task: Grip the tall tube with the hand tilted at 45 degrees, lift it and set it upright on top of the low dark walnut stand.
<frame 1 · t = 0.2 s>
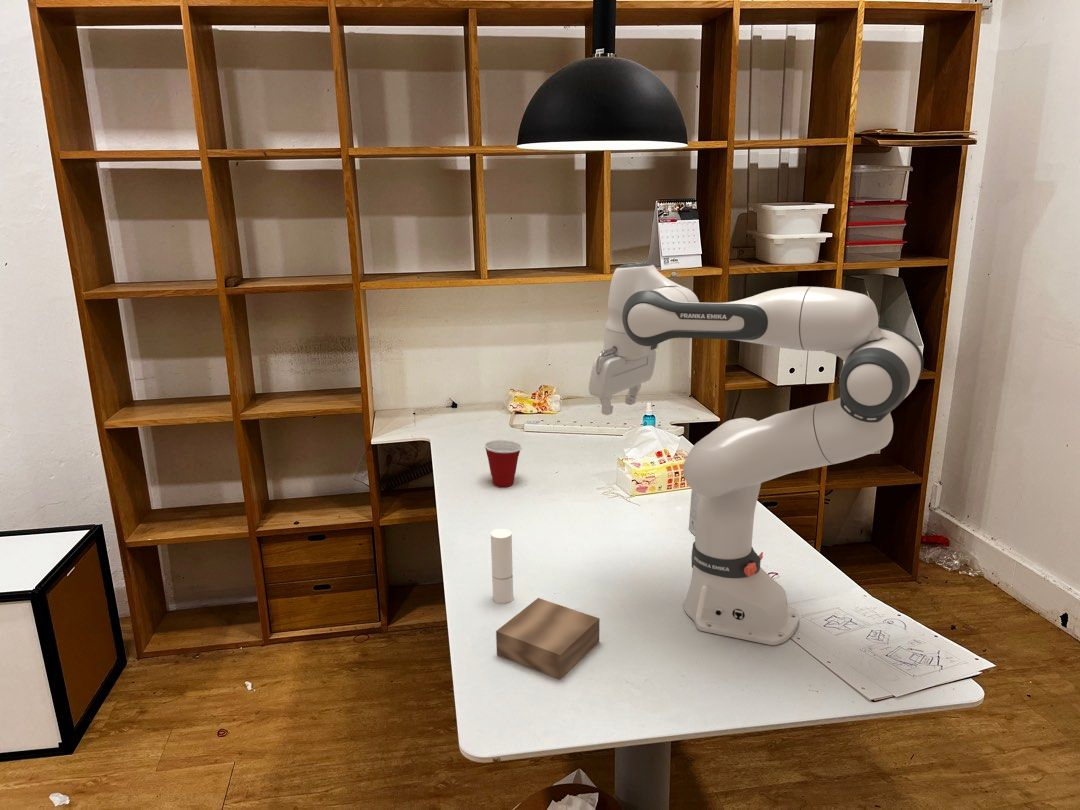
hand: (618, 408, 165), 39 cm above the table, tool pointing down, fingers open, 8 cm apart
walnut stand: (548, 647, 152), on the table
ink cartridge box: (707, 537, 196), on the table
tube: (503, 599, 169), on the table
plastic cup: (504, 484, 230), on the table
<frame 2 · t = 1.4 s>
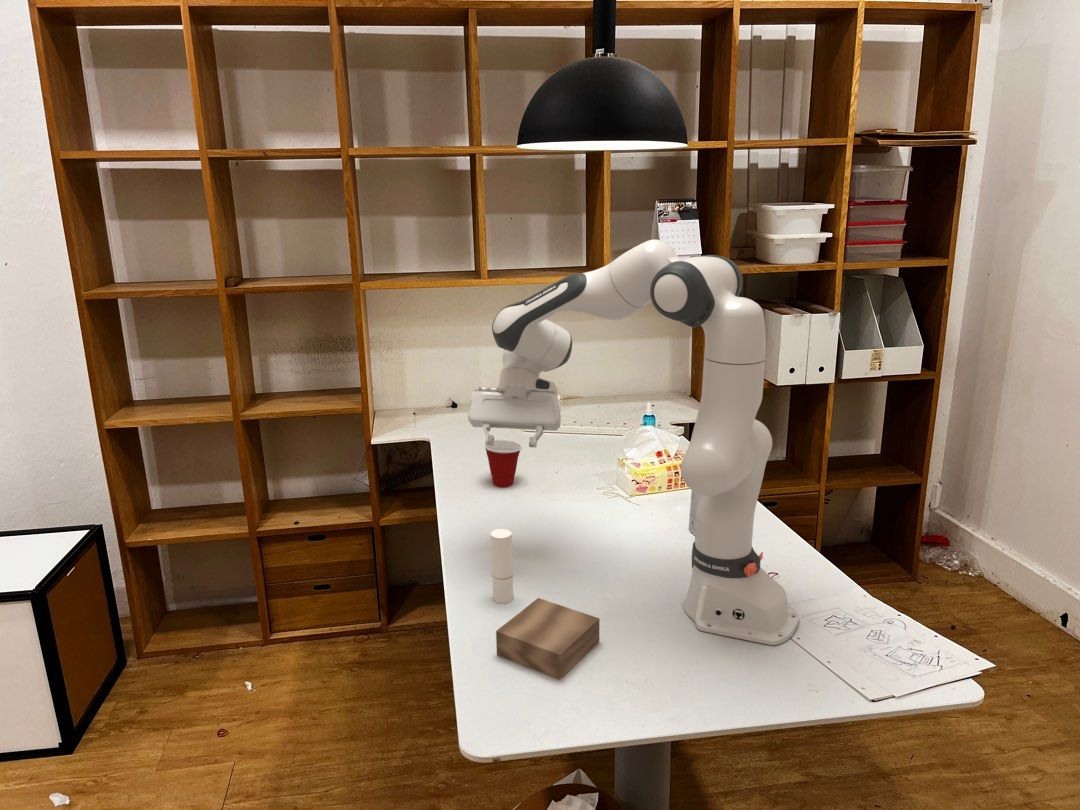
hand: (510, 445, 172), 30 cm above the table, tool tilted 45°, fingers open, 8 cm apart
nothing on the table moved.
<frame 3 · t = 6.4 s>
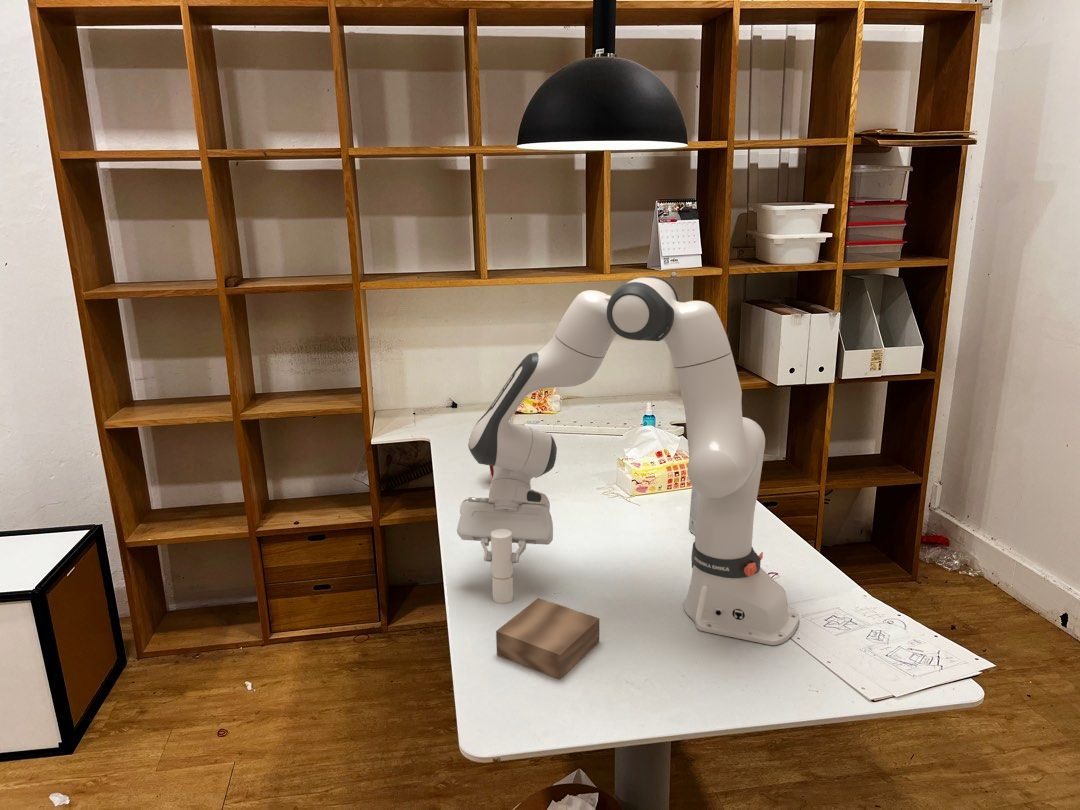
hand: (501, 561, 166), 9 cm above the table, tool tilted 45°, fingers closed on tube, 4 cm apart
tube: (503, 599, 169), on the table, touching gripper
everything else where it was.
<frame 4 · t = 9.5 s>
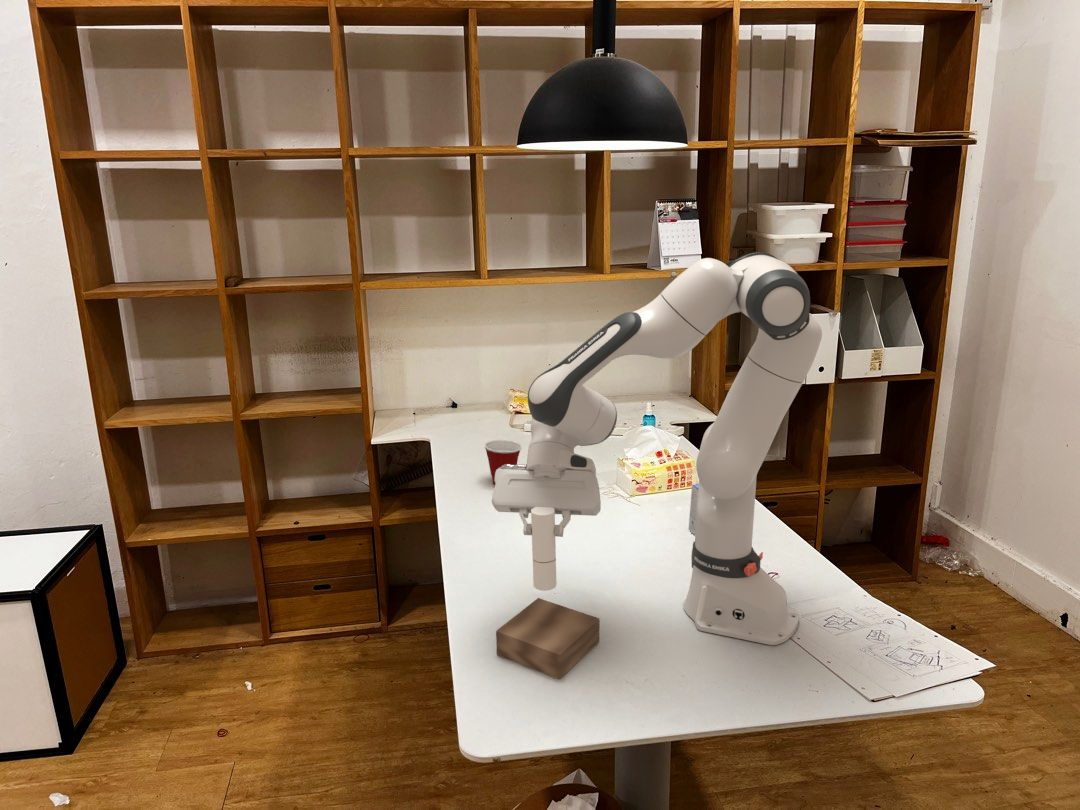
hand: (543, 535, 146), 23 cm above the table, tool tilted 45°, fingers closed on tube, 4 cm apart
tube: (545, 586, 150), point 12 cm above the table, touching gripper
everything else where it was.
when the fingers open (15 cm above the table, at t = 12.5 s): tube stays where it is, resting on walnut stand.
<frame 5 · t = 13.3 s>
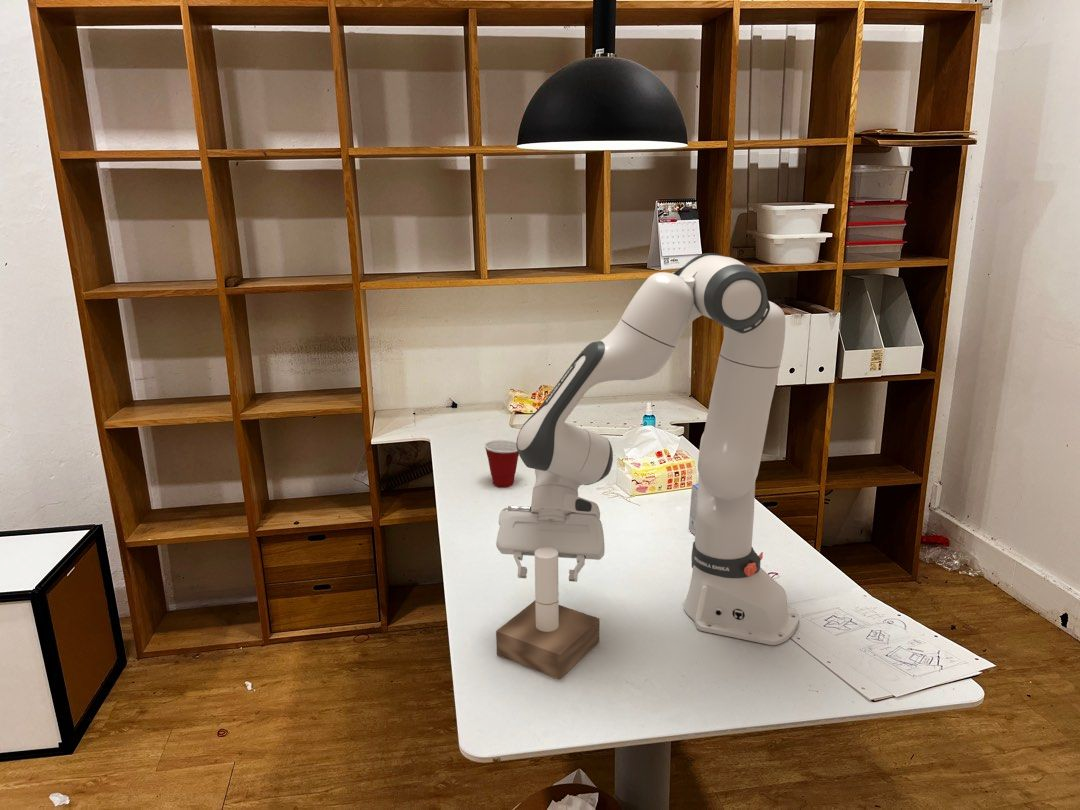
hand: (547, 579, 147), 15 cm above the table, tool tilted 45°, fingers open, 8 cm apart
tube: (547, 626, 150), point 5 cm above the table, touching walnut stand
everything else where it was.
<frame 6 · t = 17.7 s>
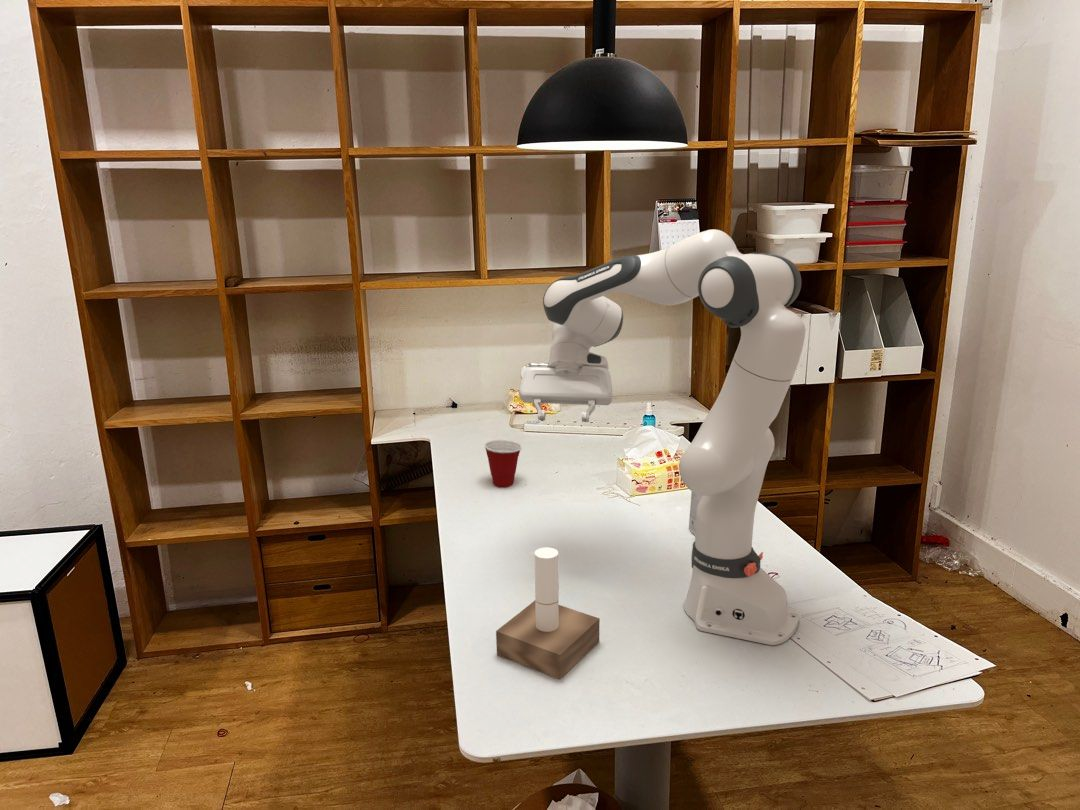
hand: (563, 420, 171), 35 cm above the table, tool tilted 45°, fingers open, 8 cm apart
nothing on the table moved.
at the end: tube inside the target area on the walnut stand (0.3 cm from its centre), point 4.8 cm above the walnut stand's base; tube tilted 0°; the gripper is holding nothing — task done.
